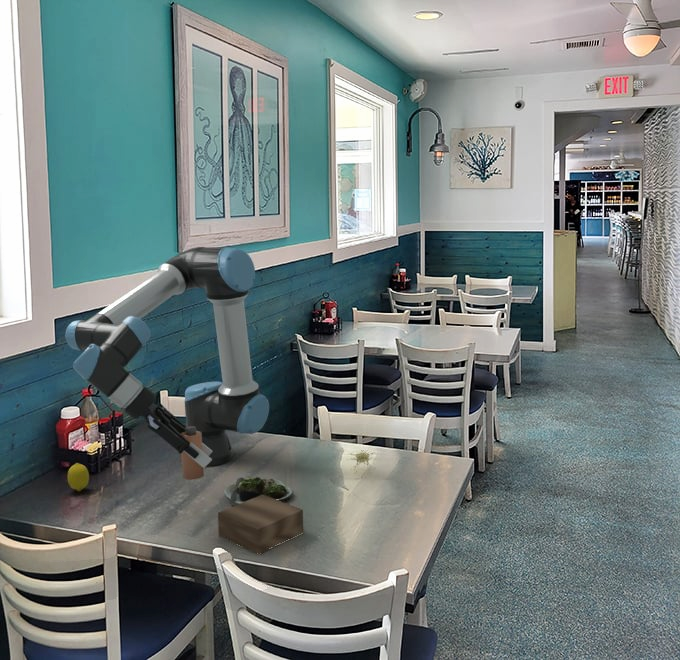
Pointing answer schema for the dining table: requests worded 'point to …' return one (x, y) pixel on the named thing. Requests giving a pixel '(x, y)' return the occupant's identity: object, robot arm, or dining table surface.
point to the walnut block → (260, 523)
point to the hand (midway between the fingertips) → (208, 459)
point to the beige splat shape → (362, 458)
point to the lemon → (78, 477)
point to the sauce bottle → (188, 464)
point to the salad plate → (257, 490)
